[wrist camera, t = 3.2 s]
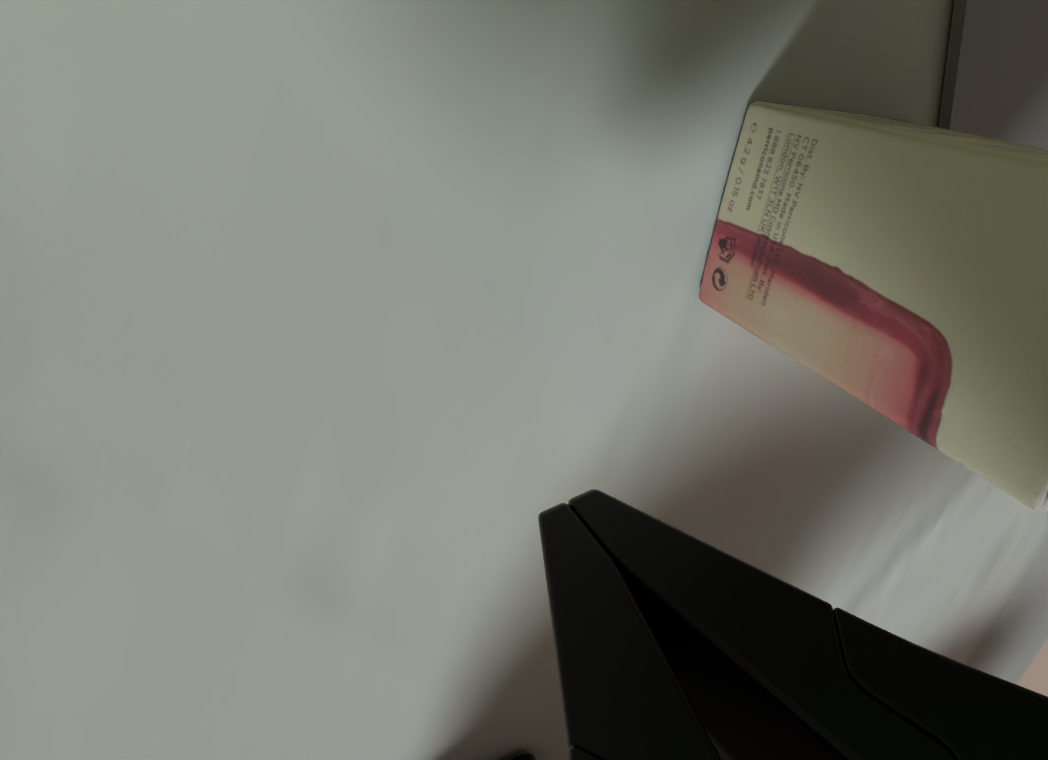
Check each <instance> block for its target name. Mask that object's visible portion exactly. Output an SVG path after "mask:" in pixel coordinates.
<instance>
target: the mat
mask: <svg viewBox="0 0 1048 760" xmlns="http://www.w3.org/2000/svg"><path fill="white" fill-rule="evenodd" d="M938 128H942V129H947V130H952V131H957V132H963V133H968V134H973V135H978V136H983V137H988V138H993V139H998V140H1003V141H1008V142H1013V143H1019V144H1024V145H1029V146H1034V147H1039V148H1044V149H1048V0H954V6H953V14H952V22H951V30H950V37H949V45H948V53H947V61H946V69H945V76H944V84H943V92H942V100H941V107H940V115H939V123H938Z"/></svg>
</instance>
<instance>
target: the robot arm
mask: <svg viewBox="0 0 1048 760" xmlns="http://www.w3.org/2000/svg"><path fill="white" fill-rule="evenodd" d="M538 518H539V527H540V535H541V543H542V550H543V558H544V566H545V573H546V581H547V589H548V596H549V604H550V611H551V619H552V627H553V634H554V642H555V650H556V657H557V665H558V673H559V680H560V688H561V696H562V703H563V711H564V718H565V726H566V734H567V741H568V746H569V749H570V750H569V760H1048V697H1047V696H1044V695H1042V694H1039V693H1037V692H1034V691H1032V690H1029V689H1026V688H1024V687H1021V686H1018V685H1016V684H1013V683H1011V682H1008V681H1006V680H1003V679H1000V678H998V677H995V676H993V675H990V674H988V673H985V672H982V671H980V670H977V669H975V668H972V667H970V666H967V665H965V664H962V663H960V662H957V661H955V660H952V659H950V658H948V657H945V656H943V655H940V654H938V653H935V652H933V651H931V650H928V649H926V648H923V647H921V646H918V645H916V644H914V643H912V642H909V641H907V640H905V639H903V638H901V637H899V636H896V635H894V634H892V633H890V632H888V631H886V630H884V629H881V628H879V627H877V626H875V625H873V624H871V623H868V622H866V621H864V620H862V619H860V618H858V617H856V616H854V615H852V614H850V613H848V612H846V611H844V610H842V609H840V608H835V609H834V610H833V608H832V606H831V604H829V603H827V602H825V601H823V600H821V599H819V598H817V597H815V596H813V595H811V594H809V593H807V592H805V591H803V590H801V589H799V588H797V587H795V586H793V585H790V584H788V583H786V582H784V581H782V580H780V579H778V578H776V577H774V576H772V575H770V574H768V573H766V572H764V571H762V570H760V569H758V568H756V567H754V566H752V565H750V564H748V563H746V562H744V561H742V560H740V559H738V558H736V557H733V556H731V555H729V554H727V553H725V552H723V551H721V550H719V549H717V548H715V547H713V546H711V545H709V544H707V543H705V542H703V541H701V540H699V539H697V538H695V537H693V536H691V535H689V534H687V533H685V532H683V531H681V530H679V529H676V528H674V527H672V526H670V525H668V524H666V523H664V522H662V521H660V520H658V519H656V518H654V517H652V516H650V515H648V514H646V513H644V512H642V511H640V510H638V509H636V508H634V507H632V506H630V505H628V504H626V503H624V502H622V501H619V500H617V499H615V498H613V497H611V496H609V495H607V494H605V493H603V492H601V491H599V490H590V491H587V492H585V493H583V494H581V495H579V496H576V497H574V498H572V499H570V500H569V502H568V504H566V503H561V504H559V505H556V506H554V507H552V508H550V509H548V510H545V511H543V512H541V513H540V514H539V517H538ZM510 760H536V758H535V756H534V755H533V754H530V753H525V754H521V755H518V756H516V757H514V758H512V759H510Z"/></svg>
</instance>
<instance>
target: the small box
mask: <svg viewBox="0 0 1048 760" xmlns="http://www.w3.org/2000/svg"><path fill="white" fill-rule="evenodd" d="M699 298H700V300H701V301H702V302H703V303H705V304H706V305H708V306H709V307H711V308H712V309H714V310H715V311H717V312H719V313H720V314H722V315H723V316H725V317H726V318H728V319H730V320H731V321H733V322H734V323H736V324H738V325H739V326H741V327H742V328H744V329H746V330H747V331H749V332H750V333H752V334H754V335H755V336H757V337H758V338H760V339H762V340H763V341H765V342H766V343H768V344H770V345H771V346H773V347H774V348H776V349H778V350H779V351H781V352H783V353H784V354H786V355H787V356H789V357H791V358H792V359H794V360H796V361H797V362H799V363H801V364H802V365H804V366H805V367H807V368H809V369H810V370H812V371H814V372H815V373H817V374H818V375H820V376H822V377H823V378H825V379H827V380H828V381H830V382H831V383H833V384H835V385H836V386H838V387H839V388H841V389H843V390H844V391H846V392H847V393H849V394H851V395H852V396H854V397H855V398H857V399H858V400H860V401H862V402H863V403H865V404H867V405H868V406H870V407H871V408H873V409H874V410H876V411H877V412H879V413H880V414H882V415H884V416H885V417H887V418H888V419H890V420H892V421H893V422H895V423H896V424H898V425H900V426H901V427H903V428H904V429H906V430H908V431H909V432H911V433H912V434H914V435H916V436H917V437H919V438H921V439H922V440H924V441H925V442H927V443H929V444H930V445H932V446H933V447H935V448H936V449H938V450H939V451H941V452H942V453H944V454H946V455H947V456H949V457H951V458H952V459H954V460H956V461H957V462H959V463H960V464H962V465H963V466H965V467H966V468H968V469H970V470H971V471H973V472H974V473H976V474H977V475H979V476H981V477H982V478H984V479H985V480H987V481H989V482H990V483H992V484H993V485H995V486H997V487H998V488H1000V489H1001V490H1003V491H1005V492H1006V493H1008V494H1009V495H1011V496H1012V497H1014V498H1015V499H1017V500H1018V501H1020V502H1021V503H1023V504H1025V505H1026V506H1028V507H1029V508H1031V509H1033V510H1036V511H1039V512H1043V511H1048V149H1044V148H1039V147H1034V146H1029V145H1024V144H1019V143H1013V142H1008V141H1003V140H998V139H993V138H988V137H983V136H978V135H973V134H968V133H963V132H957V131H952V130H947V129H942V128H937V127H931V126H926V125H920V124H914V123H908V122H903V121H897V120H892V119H886V118H880V117H874V116H867V115H861V114H854V113H847V112H839V111H831V110H823V109H815V108H808V107H800V106H792V105H783V104H775V103H768V102H760V101H758V102H753V103H752V104H750V106H749V107H748V110H747V113H746V116H745V120H744V124H743V127H742V131H741V134H740V137H739V141H738V145H737V148H736V152H735V155H734V159H733V162H732V166H731V169H730V173H729V176H728V179H727V183H726V188H725V191H724V195H723V199H722V202H721V206H720V210H719V215H718V219H717V223H716V227H715V230H714V234H713V238H712V242H711V246H710V250H709V255H708V258H707V262H706V266H705V270H704V275H703V279H702V283H701V287H700V291H699Z"/></svg>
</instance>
